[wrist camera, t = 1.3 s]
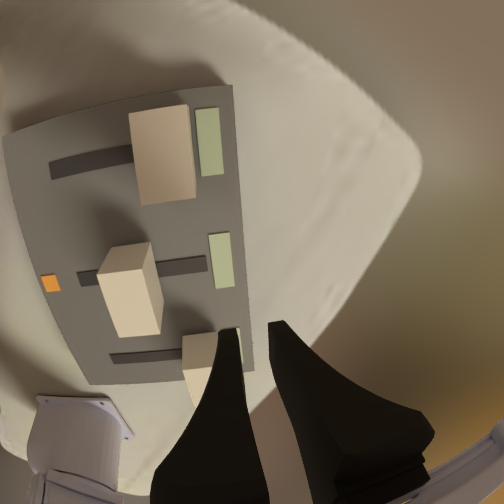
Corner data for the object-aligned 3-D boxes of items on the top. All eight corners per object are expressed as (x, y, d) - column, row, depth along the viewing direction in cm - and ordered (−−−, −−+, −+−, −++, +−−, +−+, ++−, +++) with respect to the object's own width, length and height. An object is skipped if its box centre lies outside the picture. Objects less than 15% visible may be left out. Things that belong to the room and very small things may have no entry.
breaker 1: (151, 188, 15) (141, 205, 12) (142, 113, 13) (128, 113, 11) (196, 181, 16) (196, 197, 13) (188, 106, 14) (186, 104, 11)
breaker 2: (193, 374, 21) (194, 407, 19) (182, 335, 20) (182, 370, 17) (224, 370, 22) (229, 403, 19) (217, 331, 20) (222, 365, 17)
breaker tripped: (128, 304, 18) (119, 337, 15) (111, 247, 16) (96, 274, 13) (164, 300, 18) (160, 334, 15) (150, 241, 16) (141, 268, 14)
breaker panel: (94, 368, 23) (89, 385, 21) (17, 133, 14) (0, 137, 12) (250, 353, 25) (254, 371, 23) (228, 88, 16) (232, 84, 14)
